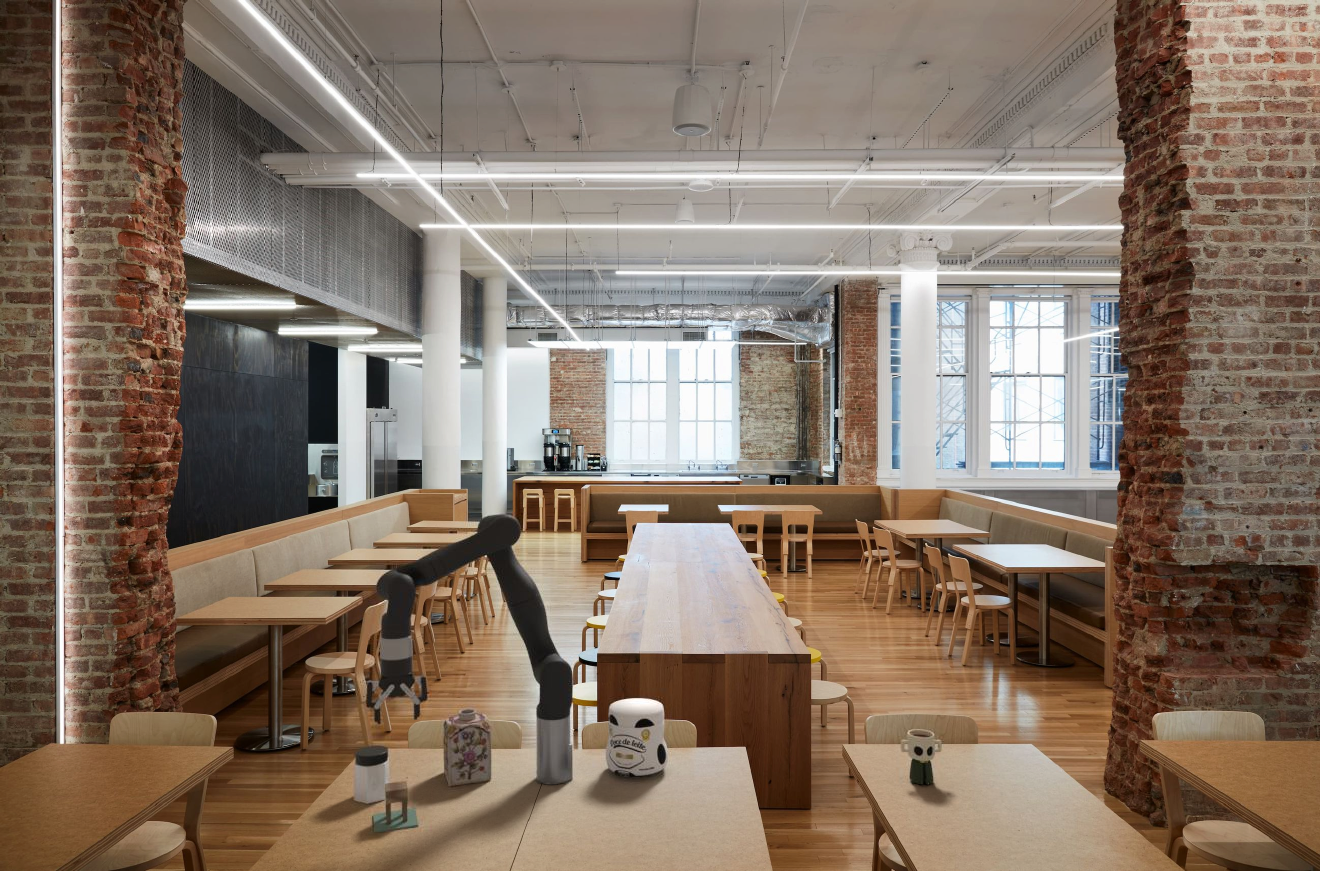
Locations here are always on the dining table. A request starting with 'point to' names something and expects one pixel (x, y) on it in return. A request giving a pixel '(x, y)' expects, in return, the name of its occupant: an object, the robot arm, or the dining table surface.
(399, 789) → the pronged tan cube
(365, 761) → the jar
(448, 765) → the decorative jar
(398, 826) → the mat
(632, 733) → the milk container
